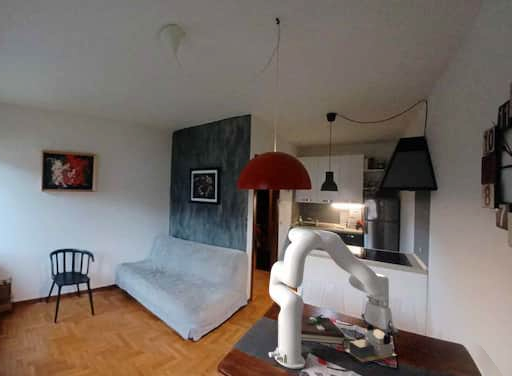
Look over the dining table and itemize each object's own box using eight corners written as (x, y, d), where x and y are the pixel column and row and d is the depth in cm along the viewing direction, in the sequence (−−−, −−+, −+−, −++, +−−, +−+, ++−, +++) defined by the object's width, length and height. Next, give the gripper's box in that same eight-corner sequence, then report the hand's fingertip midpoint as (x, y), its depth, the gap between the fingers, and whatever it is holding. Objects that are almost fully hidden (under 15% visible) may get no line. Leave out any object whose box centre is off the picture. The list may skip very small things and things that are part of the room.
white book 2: (379, 351, 118) (379, 345, 118) (364, 342, 125) (364, 337, 125) (392, 348, 120) (392, 343, 120) (377, 340, 127) (377, 335, 127)
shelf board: (362, 365, 114) (362, 361, 114) (344, 352, 123) (344, 349, 123) (396, 358, 119) (396, 355, 119) (376, 346, 128) (376, 343, 128)
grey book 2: (359, 358, 117) (360, 353, 117) (349, 351, 121) (349, 346, 121) (373, 355, 119) (373, 350, 119) (363, 349, 123) (363, 344, 123)
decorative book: (275, 311, 149) (332, 315, 144) (275, 324, 149) (332, 329, 144) (285, 328, 130) (351, 334, 125) (285, 344, 130) (351, 350, 125)
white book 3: (379, 356, 118) (379, 351, 118) (364, 347, 125) (364, 342, 125) (392, 353, 120) (392, 348, 120) (377, 345, 127) (377, 340, 127)
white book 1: (379, 344, 118) (379, 338, 118) (364, 336, 125) (364, 331, 125) (392, 341, 120) (392, 336, 120) (377, 333, 127) (377, 329, 127)
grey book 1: (360, 353, 117) (360, 347, 117) (349, 346, 121) (349, 341, 121) (373, 350, 119) (373, 345, 119) (363, 344, 123) (363, 339, 123)
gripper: (354, 294, 130) (354, 330, 130) (392, 310, 113) (392, 351, 113) (366, 293, 132) (366, 328, 132) (405, 308, 115) (405, 349, 115)
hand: (378, 339), depth 122 cm, fingers closed on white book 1, 6 cm apart
